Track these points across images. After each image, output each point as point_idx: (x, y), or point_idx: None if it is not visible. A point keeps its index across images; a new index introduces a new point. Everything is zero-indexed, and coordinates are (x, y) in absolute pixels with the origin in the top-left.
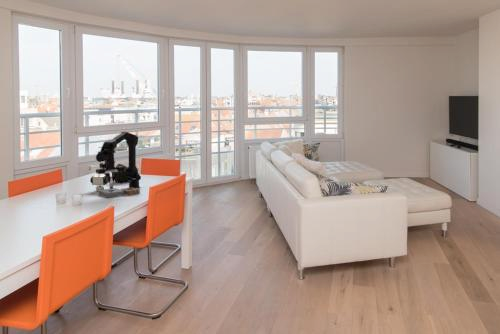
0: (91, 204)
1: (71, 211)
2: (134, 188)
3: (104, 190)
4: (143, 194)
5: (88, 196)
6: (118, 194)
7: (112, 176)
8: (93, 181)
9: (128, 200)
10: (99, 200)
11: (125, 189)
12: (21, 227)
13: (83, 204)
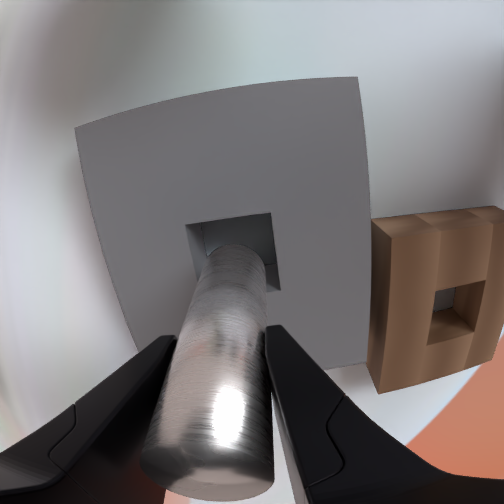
0: None
1: (3, 439)
2: (501, 298)
3: (144, 185)
4: (464, 373)
5: (9, 170)
6: None
7: (268, 484)
8: None
9: (281, 467)
10: (87, 378)
11: (420, 298)
12: None
13: (12, 391)
